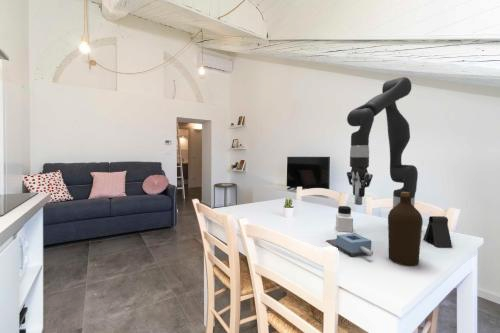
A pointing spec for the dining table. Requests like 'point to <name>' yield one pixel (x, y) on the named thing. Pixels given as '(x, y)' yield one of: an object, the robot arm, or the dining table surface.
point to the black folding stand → (438, 232)
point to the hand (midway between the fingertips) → (358, 195)
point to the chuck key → (357, 192)
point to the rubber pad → (332, 242)
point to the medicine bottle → (344, 219)
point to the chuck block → (354, 245)
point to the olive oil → (404, 232)
